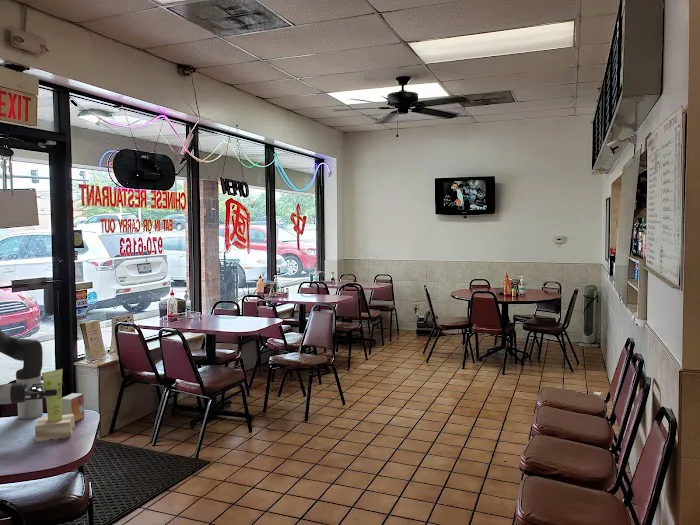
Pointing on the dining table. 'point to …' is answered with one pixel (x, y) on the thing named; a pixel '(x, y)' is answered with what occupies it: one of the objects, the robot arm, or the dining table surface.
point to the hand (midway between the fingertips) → (58, 389)
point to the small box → (73, 405)
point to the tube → (53, 402)
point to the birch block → (54, 428)
